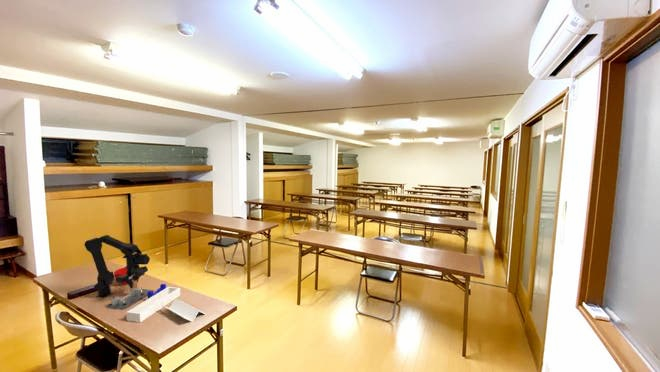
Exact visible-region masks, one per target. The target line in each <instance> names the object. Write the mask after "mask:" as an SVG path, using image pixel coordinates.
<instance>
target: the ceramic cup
mask: <svg viewBox="0 0 660 372" xmlns="http://www.w3.org/2000/svg"><path fill="white" fill-rule="evenodd" d="M126 272H127V268H125V267H121V268H119V269H118V268H117V269H116V270H114V271H113V275H114V276H115V277H114V280H115V281H116V278H117V277H119V276H121V275H124V276H126V275H127V274H126ZM132 278H133V277H132ZM117 284H119V285H120V286H126V285H127V286H129V285H128V284H127V283H126V282H124V283H121V282H117Z"/></svg>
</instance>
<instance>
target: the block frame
mask: <svg viewBox="0 0 660 372" xmlns="http://www.w3.org/2000/svg"><path fill="white" fill-rule="evenodd" d="M180 296H181V288H180V287H176V286H175V287H174V286H166V289H164V290H162V291H161V292H159V293H157V294H156V295H154V296H152V297H151V298H149V299H148V298H147V299H146V300H144V301H143V302H141V303H139V304H138V305H136V306H134V307H132V308H131V309H128V311H126V312H125V313H126V320H127V321H130V322H136V323H142V322H143V321H144V320H146V319H148V318H149V317H151V316H152V315H153V314H155V313H156V312H157V311H159V310H161V309H163V308H165V307H164V306H166V305H168V304H170V303H171V302H172V301H174V300H175V299H178V297H180ZM162 305H164V306H162Z"/></svg>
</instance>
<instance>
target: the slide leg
mask: <svg viewBox="0 0 660 372" xmlns="http://www.w3.org/2000/svg"><path fill="white" fill-rule="evenodd" d="M138 291H141V294H142V290H141V289H139V286H138V283H137V280H134V279H133V280H132V288H130V287H129V289H128V292H129V293H128V294H130V293H136V292H138Z"/></svg>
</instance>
